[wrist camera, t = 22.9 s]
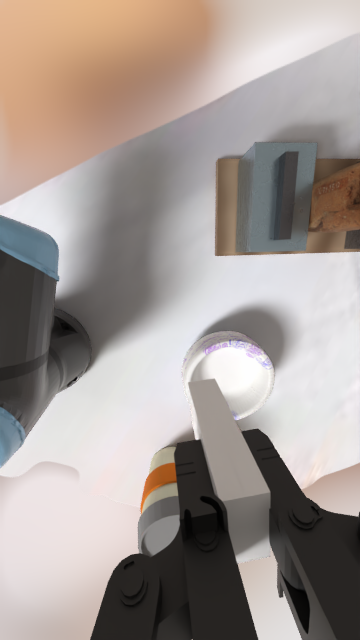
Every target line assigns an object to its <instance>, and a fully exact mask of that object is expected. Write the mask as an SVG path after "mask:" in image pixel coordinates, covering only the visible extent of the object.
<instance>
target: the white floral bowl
mask: <svg viewBox="0 0 360 640" xmlns="http://www.w3.org/2000/svg"><path fill="white" fill-rule="evenodd" d="M214 378H215V380H216V382H217V384H218V386H219V388H220V390H221V392H222V394H223V396H224V398H225V400H226V402H227V404H228V406H229V408H230V410H231V412H232V415H233V417H234V419H235V420H239V419H242V418H245V417H247V416H249V415H251V414H253V413H254V412H256V411H257V410H258V409H259V408H260V407H261V406H262V405H263V404H264V403H265V402H266V401H267V399H268V398H269V396H270V394H271V392H272V389H273V386H274V379H275V374H274V368H273V364H272V362H271V360H270V358H269V356H268V355H267V353H266V352H265V351H264V350H263V349H262V348H261V347H260V346H259V345H258V344H257V343H256V342H255V341H254V340H252V339H251V338H249V337H248V336H246V335H244V334H242V333H239V332H235V331H219V332H215V333H211V334H208V335H206V336H204V337H202V338H201V339H199V340H198V341H197V342H195V343H194V344H193V345H192V347H191V348H190V349H189V350H188V352H187V354H186V356H185V358H184V360H183V364H182V381H183V386H184V392H185V396H186V398H187V400H188V402H189V404H190V399H189V390H188V382H194V381H201V380H207V379H214Z"/></svg>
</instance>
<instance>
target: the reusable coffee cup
mask: <svg viewBox="0 0 360 640" xmlns="http://www.w3.org/2000/svg"><path fill="white" fill-rule="evenodd" d="M175 449H176V447H166V448H163V449H161V450H159V451H158V452H157V453H156V454H155V455H154V456H153V458H152V461H151V465H150V471H149V476H148V477H147V479H146V482H145V486H144V491H143V497H142V502H141V517H140V519H139V522H138V549H139V553H142V554H144V555H147V556H150V557H152V556H153V555H155V554H157V553H158V552H160V551H161V550H163V549H164V548H165V547H167V546H168V545H169V544H170V543H171V542H172V541H173V539H174V538H175V536H176V534H177V532H178V530H179V526H180V521H179V517H180V508H179V499H178V489H177V480H176V470H175V461H174V452H175Z"/></svg>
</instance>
